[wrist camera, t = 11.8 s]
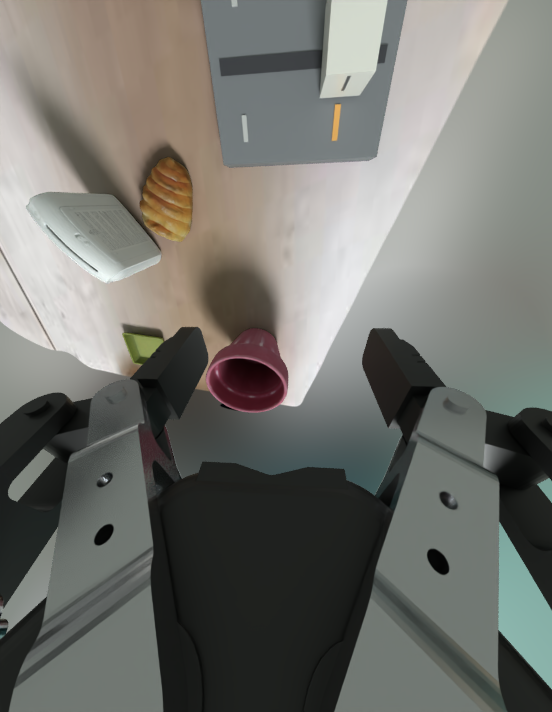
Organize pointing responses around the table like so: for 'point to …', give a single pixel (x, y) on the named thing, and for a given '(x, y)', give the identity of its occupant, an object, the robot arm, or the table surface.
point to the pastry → (168, 200)
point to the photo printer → (95, 233)
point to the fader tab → (350, 45)
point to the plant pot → (249, 373)
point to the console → (290, 84)
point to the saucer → (141, 346)
